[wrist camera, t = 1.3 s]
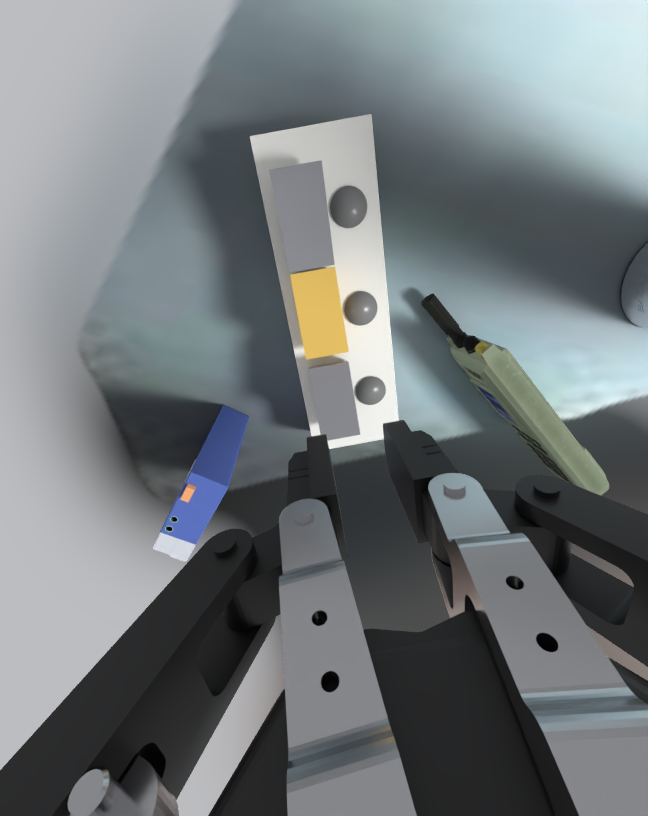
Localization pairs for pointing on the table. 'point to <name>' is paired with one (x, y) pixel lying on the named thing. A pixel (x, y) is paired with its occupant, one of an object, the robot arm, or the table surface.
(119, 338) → the table surface
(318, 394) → the block
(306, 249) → the grey flat block
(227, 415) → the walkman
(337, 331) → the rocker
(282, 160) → the power strip
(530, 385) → the handheld radio
